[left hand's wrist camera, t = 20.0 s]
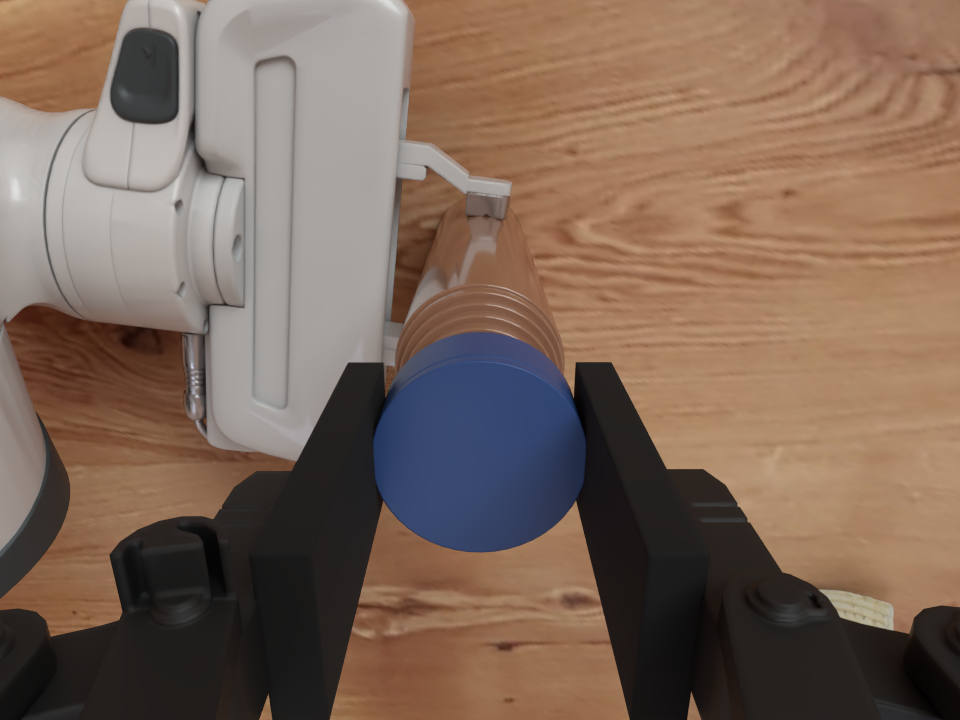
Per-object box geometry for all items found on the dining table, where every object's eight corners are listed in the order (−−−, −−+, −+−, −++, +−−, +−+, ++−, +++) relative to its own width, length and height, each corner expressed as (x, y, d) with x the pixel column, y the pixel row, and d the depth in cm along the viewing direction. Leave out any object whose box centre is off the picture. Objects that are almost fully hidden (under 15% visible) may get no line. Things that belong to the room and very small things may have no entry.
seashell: (705, 653, 42) (825, 634, 36) (750, 578, 48) (858, 551, 42) (780, 769, 41) (913, 768, 35) (815, 678, 47) (934, 664, 41)
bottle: (420, 221, 35) (324, 405, 13) (497, 179, 34) (529, 301, 12) (462, 295, 36) (437, 572, 14) (537, 256, 35) (627, 487, 14)
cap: (603, 466, 15) (618, 511, 13) (432, 529, 15) (426, 579, 14) (533, 299, 14) (540, 326, 12) (349, 376, 14) (332, 411, 12)
